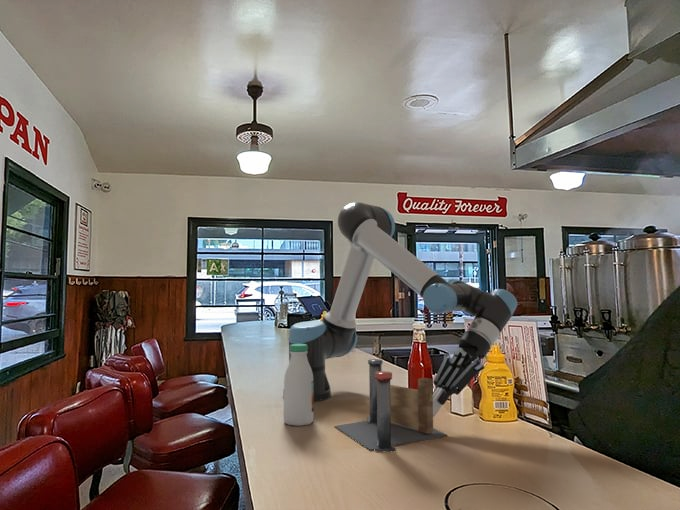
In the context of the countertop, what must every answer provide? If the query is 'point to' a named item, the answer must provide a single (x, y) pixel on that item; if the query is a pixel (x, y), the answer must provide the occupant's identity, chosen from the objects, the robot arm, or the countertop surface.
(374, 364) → the hinge post
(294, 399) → the milk bottle
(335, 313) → the robot arm
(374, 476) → the countertop surface
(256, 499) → the countertop surface
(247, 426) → the countertop surface
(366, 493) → the countertop surface
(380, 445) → the post
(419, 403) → the gate
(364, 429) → the bar mat
